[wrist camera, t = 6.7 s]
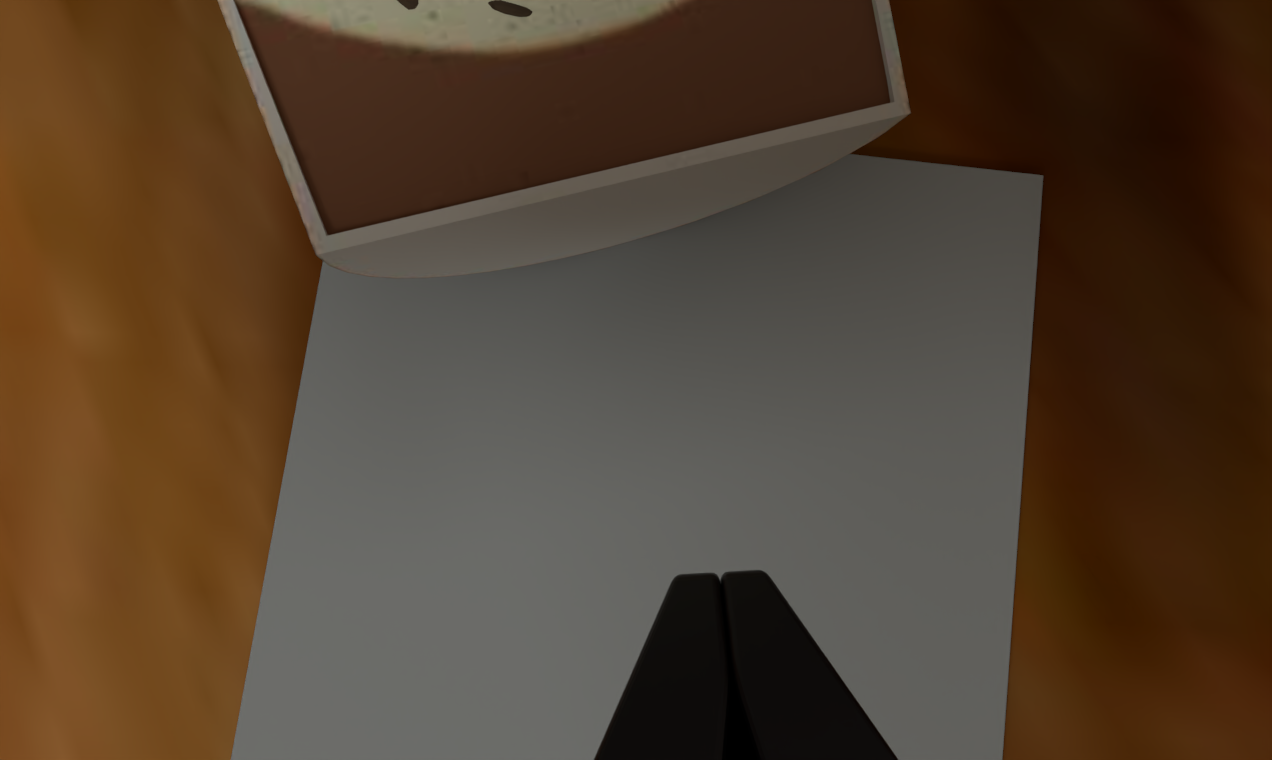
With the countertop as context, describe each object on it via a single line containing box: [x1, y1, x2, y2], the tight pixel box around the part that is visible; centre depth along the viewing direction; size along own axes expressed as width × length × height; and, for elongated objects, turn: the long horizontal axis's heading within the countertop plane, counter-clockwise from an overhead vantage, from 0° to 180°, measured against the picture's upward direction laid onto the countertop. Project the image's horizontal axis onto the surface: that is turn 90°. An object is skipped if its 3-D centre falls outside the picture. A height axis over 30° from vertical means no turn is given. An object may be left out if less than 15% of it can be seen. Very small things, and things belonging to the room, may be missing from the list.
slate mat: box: [231, 154, 1043, 760], centre depth 19 cm, size 15×14×1 cm
